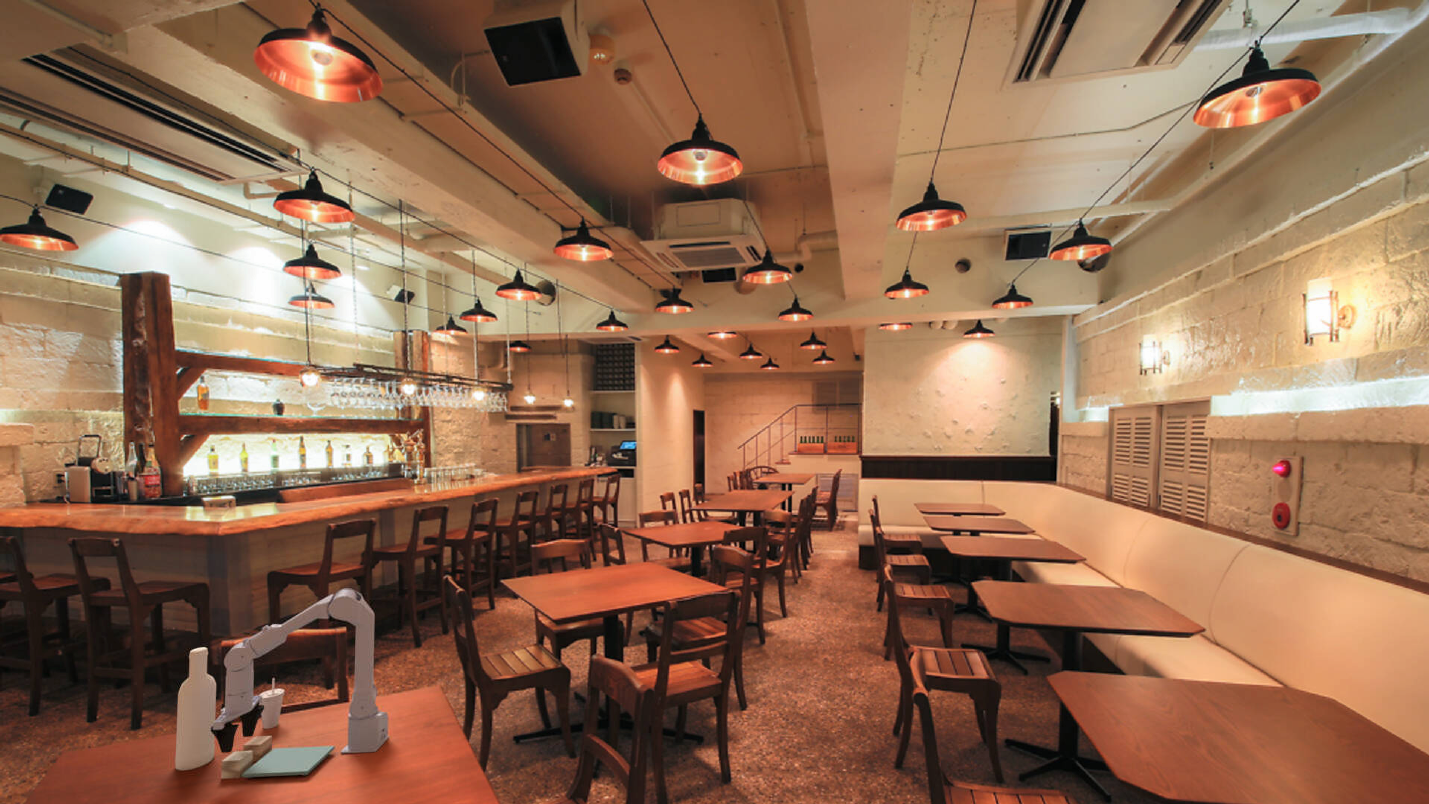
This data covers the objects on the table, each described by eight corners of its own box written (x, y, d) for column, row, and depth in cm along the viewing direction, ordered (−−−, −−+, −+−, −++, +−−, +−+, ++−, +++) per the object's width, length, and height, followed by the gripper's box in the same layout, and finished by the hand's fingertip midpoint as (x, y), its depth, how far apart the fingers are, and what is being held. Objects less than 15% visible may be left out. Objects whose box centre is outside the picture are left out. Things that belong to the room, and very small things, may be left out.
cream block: (252, 768, 155) (252, 750, 155) (239, 778, 150) (240, 760, 150) (234, 768, 154) (234, 751, 155) (221, 779, 150) (221, 761, 150)
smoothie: (269, 732, 173) (270, 684, 173) (251, 730, 174) (253, 682, 175) (289, 721, 179) (290, 675, 180) (271, 719, 180) (273, 673, 181)
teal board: (334, 752, 162) (334, 745, 162) (307, 778, 150) (307, 771, 150) (273, 755, 161) (274, 748, 161) (241, 781, 149) (242, 774, 149)
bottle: (213, 764, 156) (216, 650, 158) (173, 774, 152) (177, 657, 153) (215, 751, 163) (218, 642, 164) (177, 761, 158) (181, 648, 159)
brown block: (271, 752, 162) (272, 735, 162) (260, 761, 158) (260, 744, 158) (254, 753, 162) (255, 736, 162) (242, 762, 157) (243, 745, 158)
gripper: (243, 679, 160) (242, 730, 160) (201, 704, 146) (199, 760, 145) (270, 678, 161) (269, 729, 160) (230, 703, 146) (228, 759, 146)
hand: (237, 743), depth 153 cm, fingers open, 7 cm apart
